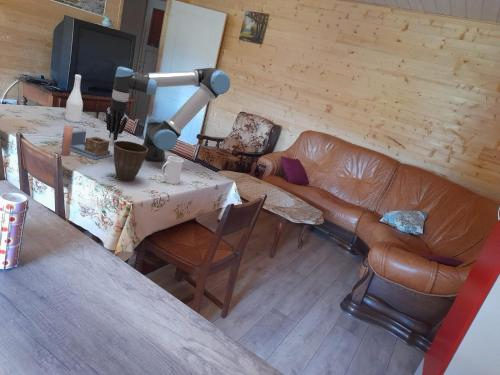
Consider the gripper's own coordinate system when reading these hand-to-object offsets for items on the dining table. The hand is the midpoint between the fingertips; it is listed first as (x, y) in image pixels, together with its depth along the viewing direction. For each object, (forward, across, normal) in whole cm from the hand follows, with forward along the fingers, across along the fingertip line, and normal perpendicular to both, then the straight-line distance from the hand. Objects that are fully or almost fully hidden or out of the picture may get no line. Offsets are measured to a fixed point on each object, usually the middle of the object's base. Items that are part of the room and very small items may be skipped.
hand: (111, 145), depth 177 cm
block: (+7, +9, 0) cm, 11 cm away
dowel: (+9, +16, +13) cm, 22 cm away
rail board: (+8, +14, 0) cm, 16 cm away
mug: (+8, -33, -2) cm, 34 cm away
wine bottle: (+9, +61, -42) cm, 74 cm away
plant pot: (+8, -19, +14) cm, 25 cm away
